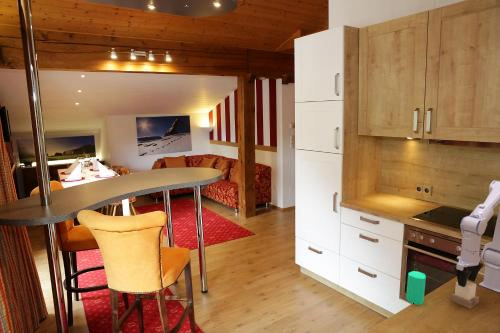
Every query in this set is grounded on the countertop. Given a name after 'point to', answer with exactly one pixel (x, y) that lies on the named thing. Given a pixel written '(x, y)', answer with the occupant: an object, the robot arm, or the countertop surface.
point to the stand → (464, 301)
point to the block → (466, 290)
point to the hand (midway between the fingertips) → (466, 283)
